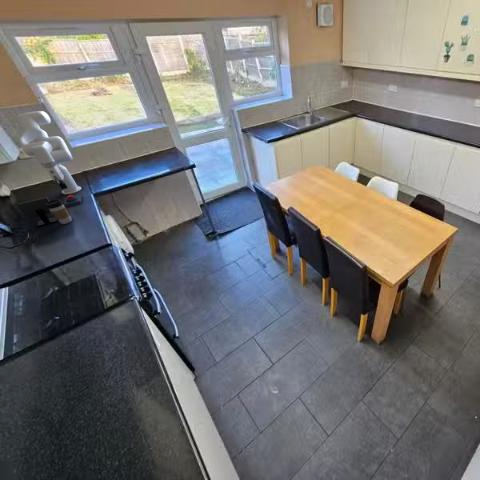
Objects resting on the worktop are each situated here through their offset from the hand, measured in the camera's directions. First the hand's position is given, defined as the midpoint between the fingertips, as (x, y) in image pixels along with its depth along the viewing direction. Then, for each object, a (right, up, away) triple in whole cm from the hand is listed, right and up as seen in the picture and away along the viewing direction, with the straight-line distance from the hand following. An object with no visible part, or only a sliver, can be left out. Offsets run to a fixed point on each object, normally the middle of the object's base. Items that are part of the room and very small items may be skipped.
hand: (64, 188), depth 194 cm
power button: (+1, -6, +4) cm, 8 cm away
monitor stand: (+3, -25, -15) cm, 29 cm away
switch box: (+1, -9, +6) cm, 11 cm away
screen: (+3, -20, -18) cm, 27 cm away
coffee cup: (+15, -25, -15) cm, 33 cm away
